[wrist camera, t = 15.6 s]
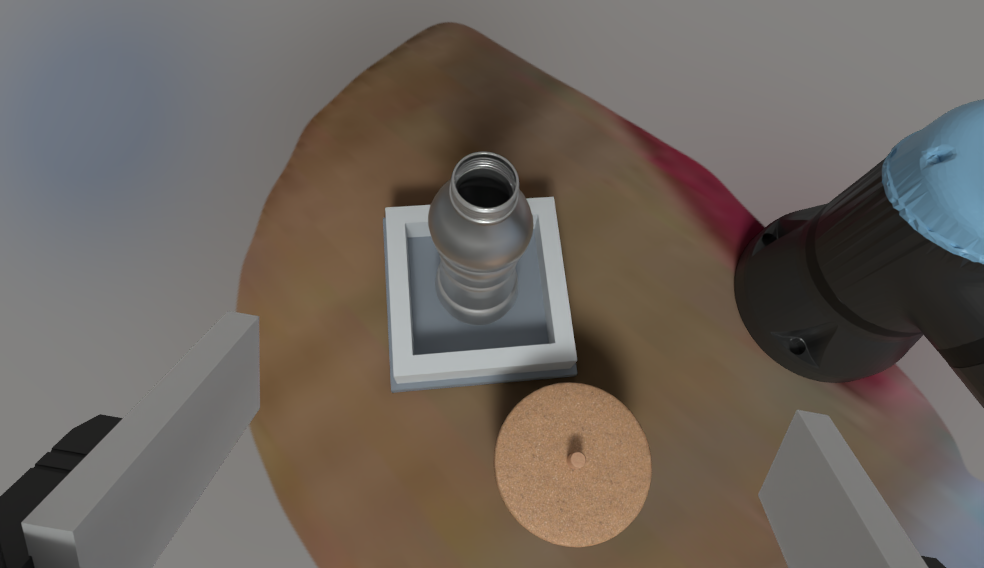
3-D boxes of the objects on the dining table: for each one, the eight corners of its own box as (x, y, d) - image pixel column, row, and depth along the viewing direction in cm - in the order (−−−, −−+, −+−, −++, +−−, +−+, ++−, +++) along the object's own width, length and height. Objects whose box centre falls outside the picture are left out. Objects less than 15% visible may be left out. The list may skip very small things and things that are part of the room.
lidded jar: (509, 382, 52) (521, 357, 43) (636, 421, 51) (674, 404, 42) (471, 516, 48) (474, 519, 39) (606, 558, 48) (641, 571, 39)
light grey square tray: (551, 211, 57) (558, 191, 53) (575, 376, 52) (584, 366, 48) (384, 222, 56) (378, 202, 52) (392, 392, 51) (387, 383, 47)
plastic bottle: (495, 345, 52) (516, 257, 33) (421, 309, 52) (401, 202, 33) (528, 279, 54) (567, 159, 35) (457, 245, 54) (457, 109, 35)
